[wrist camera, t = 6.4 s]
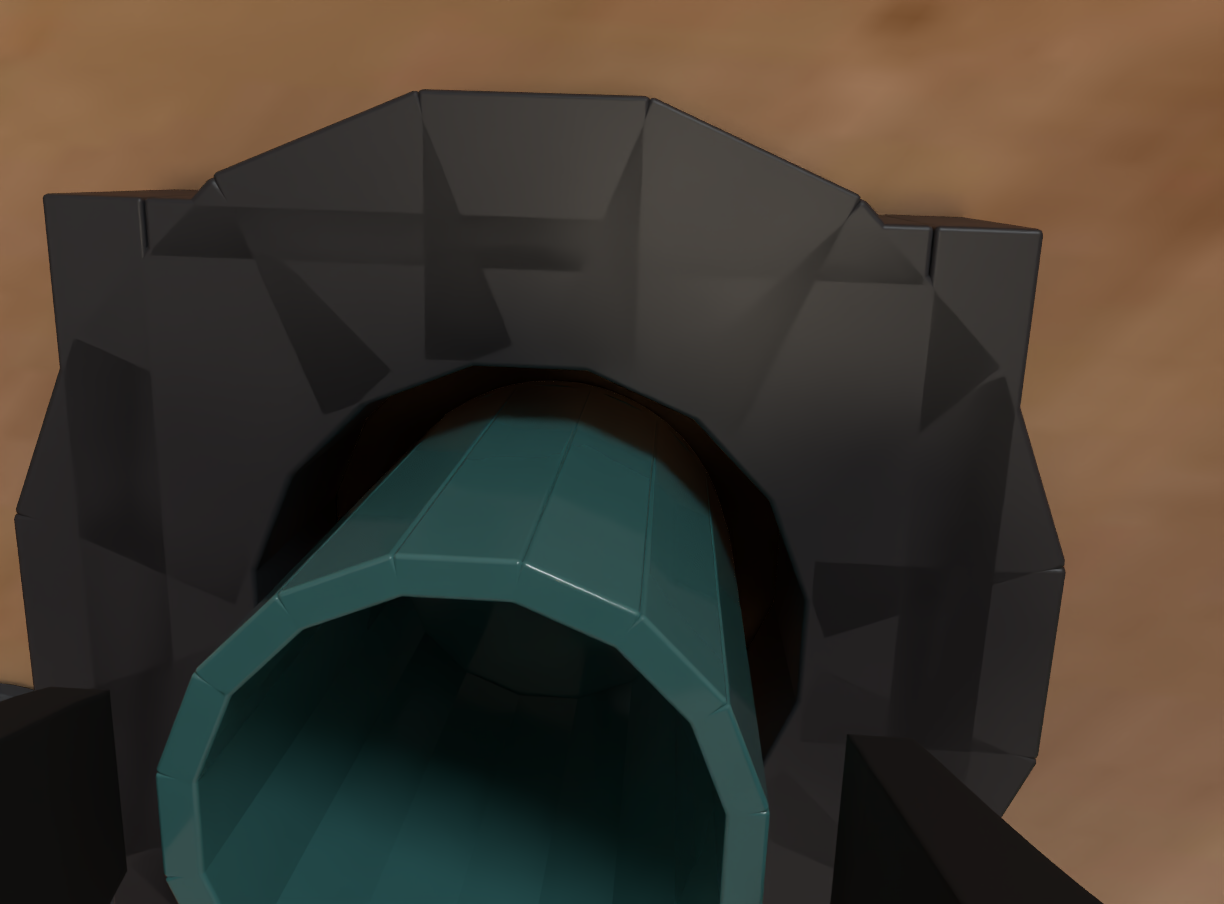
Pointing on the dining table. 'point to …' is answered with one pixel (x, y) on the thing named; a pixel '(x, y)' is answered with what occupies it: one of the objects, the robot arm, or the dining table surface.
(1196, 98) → the dining table surface
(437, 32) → the dining table surface
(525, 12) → the dining table surface
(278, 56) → the dining table surface
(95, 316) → the cup holder
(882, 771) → the robot arm
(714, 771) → the cup
